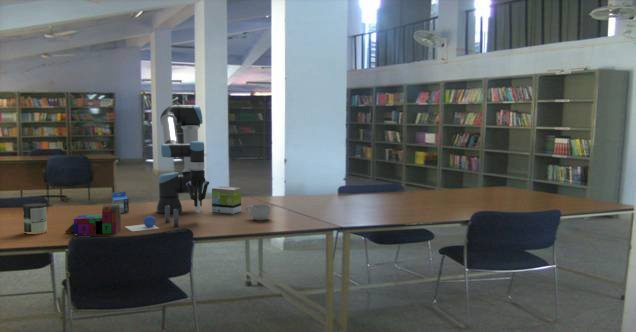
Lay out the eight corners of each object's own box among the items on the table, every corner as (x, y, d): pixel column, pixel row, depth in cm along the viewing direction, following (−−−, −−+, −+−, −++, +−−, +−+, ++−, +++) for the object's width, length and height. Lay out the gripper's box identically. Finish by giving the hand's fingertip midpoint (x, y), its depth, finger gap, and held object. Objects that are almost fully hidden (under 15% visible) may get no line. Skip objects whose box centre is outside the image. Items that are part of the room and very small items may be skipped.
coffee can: (20, 235, 267) (18, 206, 266) (29, 230, 277) (28, 202, 276) (42, 234, 268) (41, 206, 267) (50, 230, 278) (49, 202, 277)
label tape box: (114, 214, 324) (113, 193, 323) (111, 213, 327) (111, 192, 326) (129, 212, 330) (128, 192, 329) (126, 211, 333) (125, 191, 332)
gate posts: (164, 222, 300) (164, 205, 299) (169, 221, 302) (168, 205, 301) (174, 227, 287) (174, 209, 286) (179, 226, 289) (179, 209, 288)
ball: (153, 215, 291) (152, 226, 291) (142, 214, 287) (141, 226, 287) (158, 216, 286) (156, 228, 286) (146, 216, 282) (145, 228, 282)
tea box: (211, 212, 331) (211, 188, 330) (220, 209, 341) (220, 186, 339) (233, 214, 326) (232, 189, 324) (241, 211, 335) (241, 187, 334)
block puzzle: (123, 227, 286) (122, 200, 285) (116, 234, 270) (115, 206, 268) (72, 229, 283) (71, 201, 281) (62, 236, 266) (60, 207, 265)
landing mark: (124, 226, 287) (124, 226, 287) (150, 224, 295) (150, 223, 295) (132, 231, 276) (132, 231, 276) (159, 228, 284) (159, 228, 284)
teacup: (273, 218, 312) (273, 204, 311) (265, 222, 302) (265, 207, 301) (251, 217, 317) (250, 203, 316) (242, 220, 306) (242, 206, 306)
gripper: (188, 171, 294) (189, 214, 296) (211, 169, 301) (211, 212, 304) (183, 169, 300) (184, 212, 303) (205, 168, 307) (206, 209, 310)
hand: (198, 212), depth 303 cm, fingers closed
